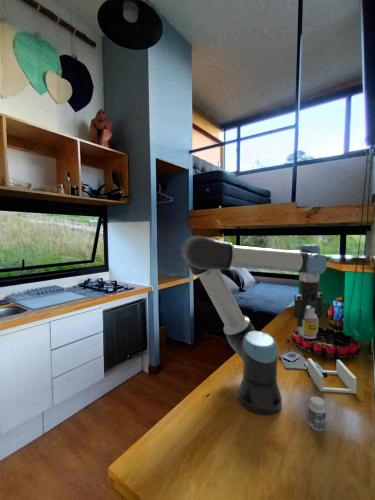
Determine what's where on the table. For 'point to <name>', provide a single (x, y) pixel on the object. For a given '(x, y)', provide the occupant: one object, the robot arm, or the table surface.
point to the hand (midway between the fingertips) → (307, 332)
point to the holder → (340, 371)
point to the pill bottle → (317, 414)
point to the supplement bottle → (310, 323)
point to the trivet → (294, 364)
